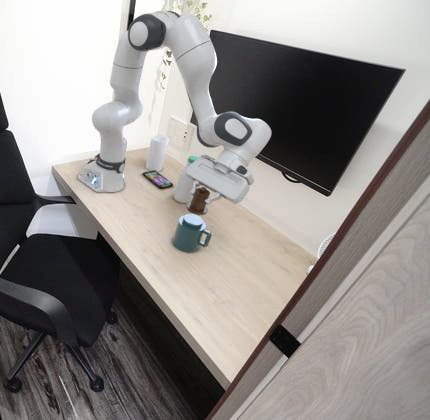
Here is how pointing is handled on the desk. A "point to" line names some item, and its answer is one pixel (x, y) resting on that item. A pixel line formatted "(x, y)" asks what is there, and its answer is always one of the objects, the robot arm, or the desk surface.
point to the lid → (198, 202)
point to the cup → (157, 152)
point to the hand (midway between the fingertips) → (199, 198)
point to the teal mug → (190, 233)
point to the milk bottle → (184, 184)
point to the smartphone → (158, 179)
